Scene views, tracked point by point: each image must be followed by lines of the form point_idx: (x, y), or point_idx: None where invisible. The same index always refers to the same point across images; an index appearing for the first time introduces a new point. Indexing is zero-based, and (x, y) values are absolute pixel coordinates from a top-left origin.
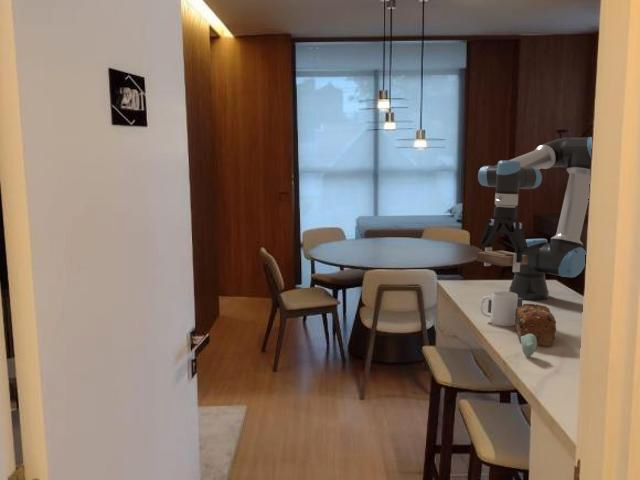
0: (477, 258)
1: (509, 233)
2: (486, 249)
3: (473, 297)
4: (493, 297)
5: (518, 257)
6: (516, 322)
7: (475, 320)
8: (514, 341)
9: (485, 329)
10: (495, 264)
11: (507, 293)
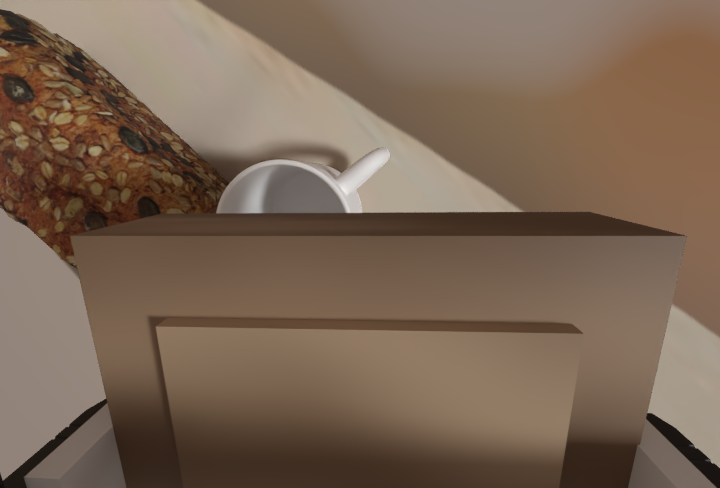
0: (592, 217)
1: None
2: (673, 478)
3: (658, 403)
4: (306, 163)
5: (59, 444)
6: (197, 168)
7: (398, 142)
8: (124, 63)
9: (284, 81)
10: (271, 213)
11: None
